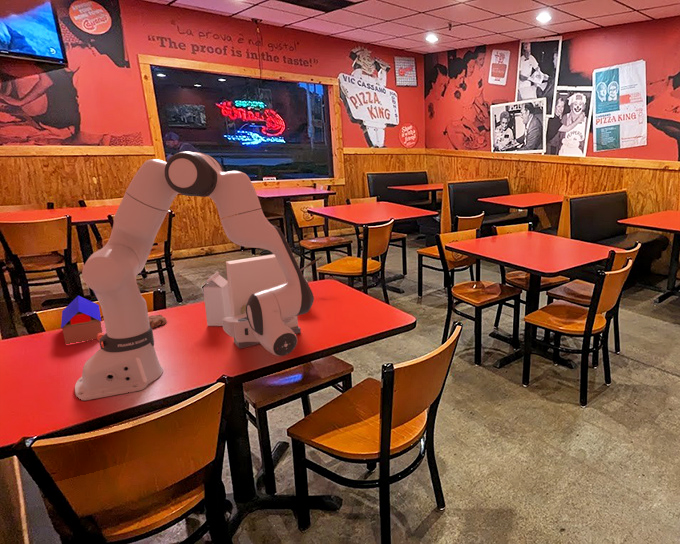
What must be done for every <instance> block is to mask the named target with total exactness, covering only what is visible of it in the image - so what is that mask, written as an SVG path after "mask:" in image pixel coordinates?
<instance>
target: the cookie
mask: <svg viewBox="0 0 680 544" xmlns="http://www.w3.org/2000/svg"><path fill="white" fill-rule="evenodd" d="M148 318H149V324H150V326H151V328H152V329H154V328H157V327H159V326H163V325H165V324H166V323H167V322H168V321H167V318H166V317H164V316H163V315H162V314H157V315H156V314H155V315H150V316H149V315H148Z"/></svg>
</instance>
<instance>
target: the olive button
mask: <svg viewBox="0 0 680 544" xmlns="http://www.w3.org/2000/svg"><path fill="white" fill-rule="evenodd" d="M244 311H246V305H244V306H243V307H242V308H241V314H244Z"/></svg>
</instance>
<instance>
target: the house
mask: <svg viewBox="0 0 680 544" xmlns="http://www.w3.org/2000/svg"><path fill="white" fill-rule="evenodd" d="M101 322H102V317H101V311H100V304H97V303H96V302H93V301H92V300H89V299H87V298H84V297H82V296H80V295H77V296H76V297H75V298H74V299H73V300H72V301H71V302H70V303H69V304H68V305H67V306H66V307H65V308H64V309H63V310H62V311H61V324H60V330H61V329H62V334H63V338H64V339H63V340H64V343H65V345H66V344H70V343H76V342H82V341H87V340H92V339H97V335H98V334H99V333H102V332H103V327H101V326H102V323H101ZM92 341H93V340H92ZM87 342H88V341H87Z"/></svg>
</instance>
